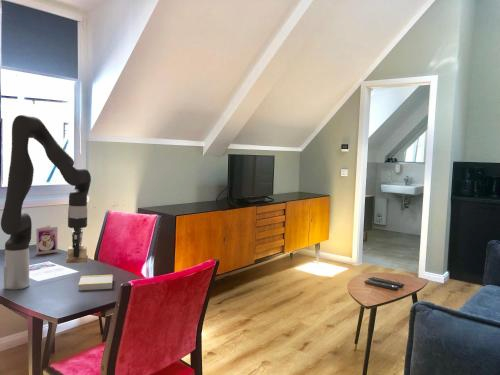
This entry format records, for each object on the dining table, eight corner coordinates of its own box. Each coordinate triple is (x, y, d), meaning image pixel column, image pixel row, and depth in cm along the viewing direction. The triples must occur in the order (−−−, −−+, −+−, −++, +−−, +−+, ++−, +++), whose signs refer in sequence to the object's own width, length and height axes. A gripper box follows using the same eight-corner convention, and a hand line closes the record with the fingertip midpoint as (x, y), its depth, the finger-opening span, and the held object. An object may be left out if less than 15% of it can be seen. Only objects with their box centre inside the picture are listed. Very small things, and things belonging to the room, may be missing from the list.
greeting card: (36, 254, 234) (36, 229, 233) (33, 252, 239) (33, 227, 238) (57, 252, 242) (57, 227, 240) (53, 249, 247) (53, 225, 246)
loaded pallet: (66, 263, 171) (66, 249, 170) (67, 260, 176) (67, 246, 175) (86, 262, 173) (87, 248, 173) (87, 259, 178) (88, 245, 178)
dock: (78, 290, 179) (78, 284, 179) (81, 281, 191) (81, 276, 191) (112, 288, 184) (112, 282, 183) (112, 280, 195) (112, 274, 195)
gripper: (70, 213, 178) (69, 251, 180) (65, 218, 165) (65, 260, 166) (88, 213, 181) (87, 251, 182) (85, 218, 167) (84, 259, 168)
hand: (77, 255), depth 174 cm, fingers closed on loaded pallet, 5 cm apart
